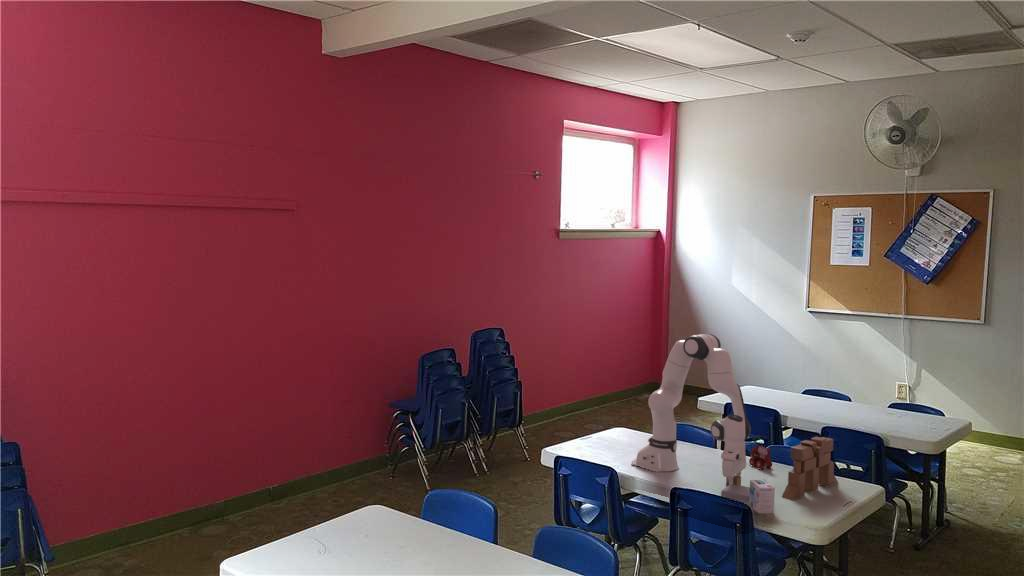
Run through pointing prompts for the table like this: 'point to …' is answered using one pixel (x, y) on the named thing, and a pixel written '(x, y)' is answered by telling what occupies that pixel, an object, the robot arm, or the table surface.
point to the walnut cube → (736, 480)
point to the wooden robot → (810, 467)
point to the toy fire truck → (760, 457)
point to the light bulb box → (761, 496)
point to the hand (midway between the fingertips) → (734, 482)
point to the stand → (736, 492)
